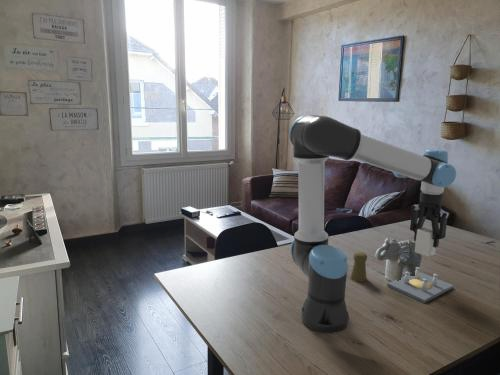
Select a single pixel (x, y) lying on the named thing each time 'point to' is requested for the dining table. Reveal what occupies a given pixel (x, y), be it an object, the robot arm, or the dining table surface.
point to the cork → (359, 267)
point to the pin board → (420, 286)
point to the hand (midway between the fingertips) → (424, 252)
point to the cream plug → (423, 241)
